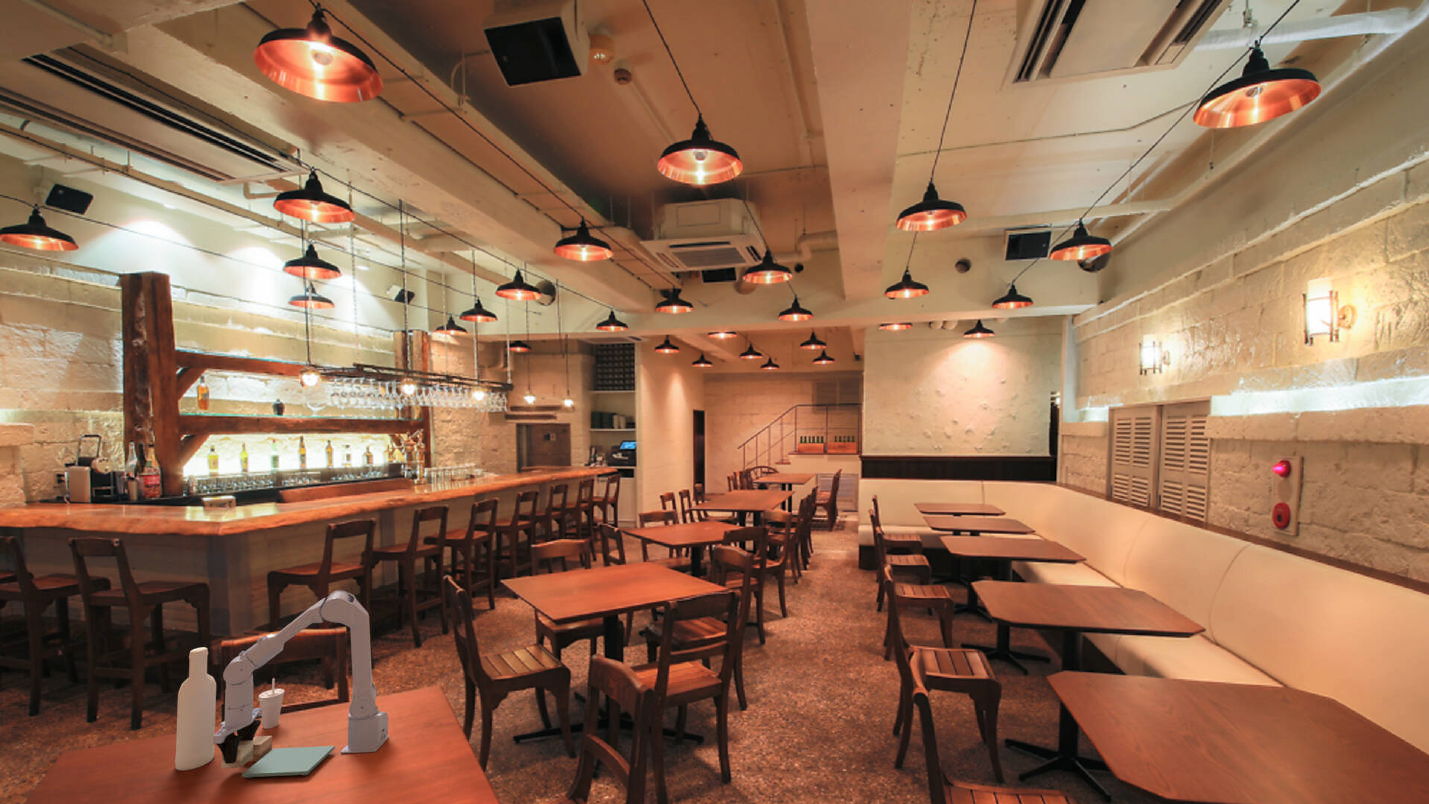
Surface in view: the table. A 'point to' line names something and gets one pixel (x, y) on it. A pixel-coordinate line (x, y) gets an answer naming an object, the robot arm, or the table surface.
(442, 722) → the table surface
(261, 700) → the smoothie
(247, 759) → the cream block
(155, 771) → the table surface
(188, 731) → the bottle
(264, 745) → the brown block
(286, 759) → the teal board
